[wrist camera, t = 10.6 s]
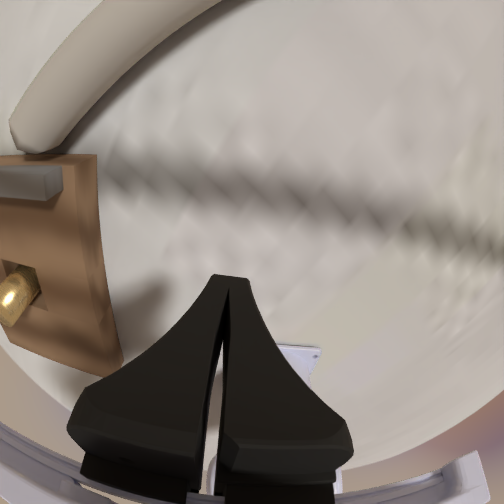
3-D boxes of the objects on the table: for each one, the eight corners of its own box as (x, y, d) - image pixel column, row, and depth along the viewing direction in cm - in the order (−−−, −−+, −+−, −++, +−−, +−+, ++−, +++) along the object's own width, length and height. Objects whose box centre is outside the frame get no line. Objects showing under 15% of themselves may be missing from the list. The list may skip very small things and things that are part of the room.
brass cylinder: (54, 282, 23) (18, 331, 17) (32, 276, 23) (-5, 320, 17) (48, 255, 21) (5, 302, 15) (25, 249, 21) (-17, 292, 15)
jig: (123, 360, 28) (110, 395, 24) (20, 326, 27) (3, 353, 23) (96, 154, 17) (55, 175, 13) (-25, 157, 16) (-60, 175, 12)
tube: (35, 183, 14) (378, -56, 6) (-16, 138, 11) (325, -120, 3) (63, 146, 18) (338, -45, 10) (21, 108, 14) (296, -96, 7)
